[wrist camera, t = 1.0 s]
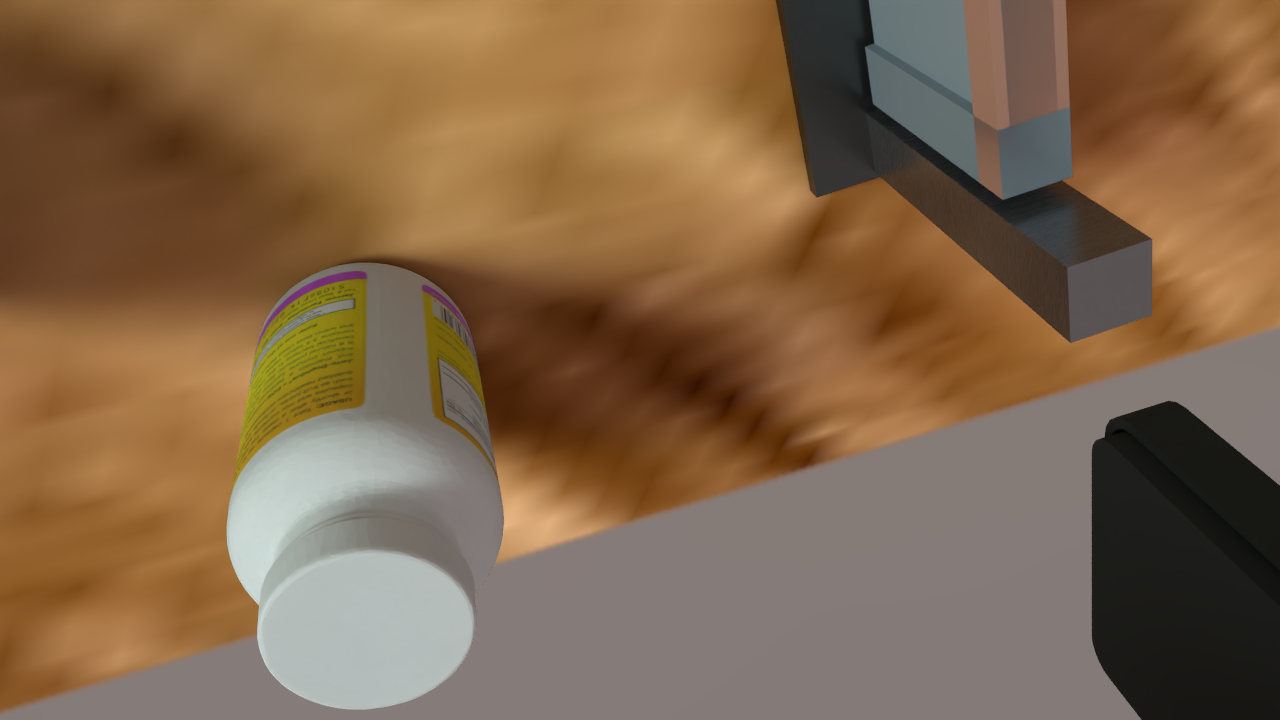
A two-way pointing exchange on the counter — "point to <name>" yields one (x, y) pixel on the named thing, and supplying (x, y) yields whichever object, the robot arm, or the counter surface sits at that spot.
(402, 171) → the counter surface
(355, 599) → the supplement bottle
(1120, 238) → the gate frame
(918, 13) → the gate
